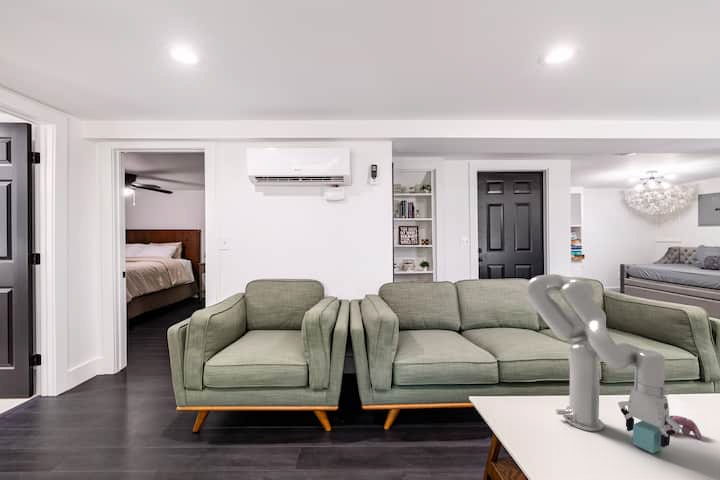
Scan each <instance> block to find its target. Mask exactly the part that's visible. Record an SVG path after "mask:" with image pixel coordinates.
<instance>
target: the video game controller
mask: <svg viewBox="0 0 720 480" xmlns="http://www.w3.org/2000/svg"><path fill="white" fill-rule="evenodd" d="M669 417H670V418H671V419H672V420H674V421H675V422H676V423H677V424H678V425H680V426H681V429H680V430H679V431H678V432H677V433H679V432H680V431H681V432H682V433H683V434H684V435H690V433H693V435H694V436H695V437H696V439H697V440H698V441H701V440H702V433H701V432H700V430H699V428H698V426H697V424H696V423H695V422H694V421H693V420H692V419H690V418H687V417H684V416H680V415H669ZM667 426H668V428H669V429H670V430H672V428H673V426H672V425H670V424H669V425H667Z"/></svg>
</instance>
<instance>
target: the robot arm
mask: <svg viewBox="0 0 720 480" xmlns="http://www.w3.org/2000/svg"><path fill="white" fill-rule="evenodd" d="M525 289H526V291H525V292H526V298H527V300H528V302H529V303H530V305H531V306H532V308H534V310H535V311H536V312H537V313H538V315H540V317H541V318H542V319H543V321H544V322H545V323H546V325H547V326H548V327H549V329H550V330H551V331H552V332H553V334H554V335H555V336H556V337H557V338H558V339H560V340H561V341H566V342H567V341H572V340H573V341H574V342H573V343H572V344H571V345H570V346H569V348H568V350H567V351H568V352H567V357H568V363H569V397H568V398H569V401H568V403H569V404H568V405H569V406H568V405H567V406H566V408H564V409H560V408H559V409H558V408H557V409H555V413H556V415H558V416H559V415H560V416H561V415H562V418H563V419H565V421H566V422H567V423H568V424H570V425H571V426H572V427H573V426H574V427H575V428H578V429H580V430H584V431H588V432H599V431H602V430H604V422H603V421H602V420H600V419H599V416H600V414H599V413H600V372H599V369H598V367H599V363H602V362H604V364H605V365H607V366H608V368H611V369H612V370H616V371H621V370H625V369H627V368H629V367H634V386H633V387H632V388H631V390H630V393H629V398H628V401H627V400H626V401H623V400H622V401H618V402H617V404H618V406H619V408H620V412H621V413H622V415H623V416H624V417H623V418H624V419H625V427H626V431H628V432H631V431H633V424H635V419H638V420H640V421H644V422H646V423H649V424H651V425H653V426H656V427H659V429H660V430H661V432H662V433H663V434H662V435H661V447H662V449H663V448H666V447H669V446H670V441H671V436H672V435H675V434H677V433H679V432H680V431H681V428H682V425H678V424H677V423H676V422H675V421H674V420H672V419H671V418H670V417H669V416H670V408H669V399H668V397H667V396H669V394H670V392H669V391H668V390H666V388H665V369H666V367H665V365H666V359H665V356H664V355H663V354H662V353H661V352H658V351H656V350H649V349H643V348H641V347H638V346H635V345H632V344H630V343H626V342H623V343H622V342H619V343H616V342H615V340H614V339H613V338H612V337H611V335H610V333H609V332H608V331H609V330H608V328H607V315H606V312H605V311H604V310H603V309H602V307H601V306H600V305H599V304H598V302H596V301H595V299H594V298H593V297H594V294H595V290H594V288H593V286H592V285H591V284H590V283H589V282H588V281H585V280H583V279H578V278H573V277H569V276H565V275H562V274H561V275H560V274H554V273H552V274H551V273H550V274H542V275H536V276H534V277H532V278H531V279H530V280H529V281H528V283H527V285H526V288H525ZM550 295H559V296H561V297H562V299H563V300H564V302H566V304H567V305H568V307H569V308H570V309H571V311H572V312H573V313H567V312H566V311H565V310H564V309H563V308H562V307H561V305H560V304H559V303H558V302H557V301H555V300H554V299H553V298H552V297H551V296H550ZM626 406H627V408H626ZM669 424H670V425H672V426H673V428H672V430H670V429H669V428H668V426H667V425H669ZM679 430H680V431H679ZM678 431H679V432H678Z"/></svg>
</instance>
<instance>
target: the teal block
mask: <svg viewBox="0 0 720 480" xmlns="http://www.w3.org/2000/svg"><path fill="white" fill-rule="evenodd" d="M662 434H663V433H662V432H661V430H660V429H659V427H656V426H653V425H651V424H649V423H646V422H644V421H642V420H640V421H638V422H635V423H634V424H633V430H632V444H633V445H635V446H636V447H638V446H639V447H641V448H643V449H645V450H647V451H649V452H651V453H652V454H655V453H657V452H659V451H661V450H662V449H663V447H661V435H662ZM649 452H648V453H649ZM651 453H650V454H651Z"/></svg>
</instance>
